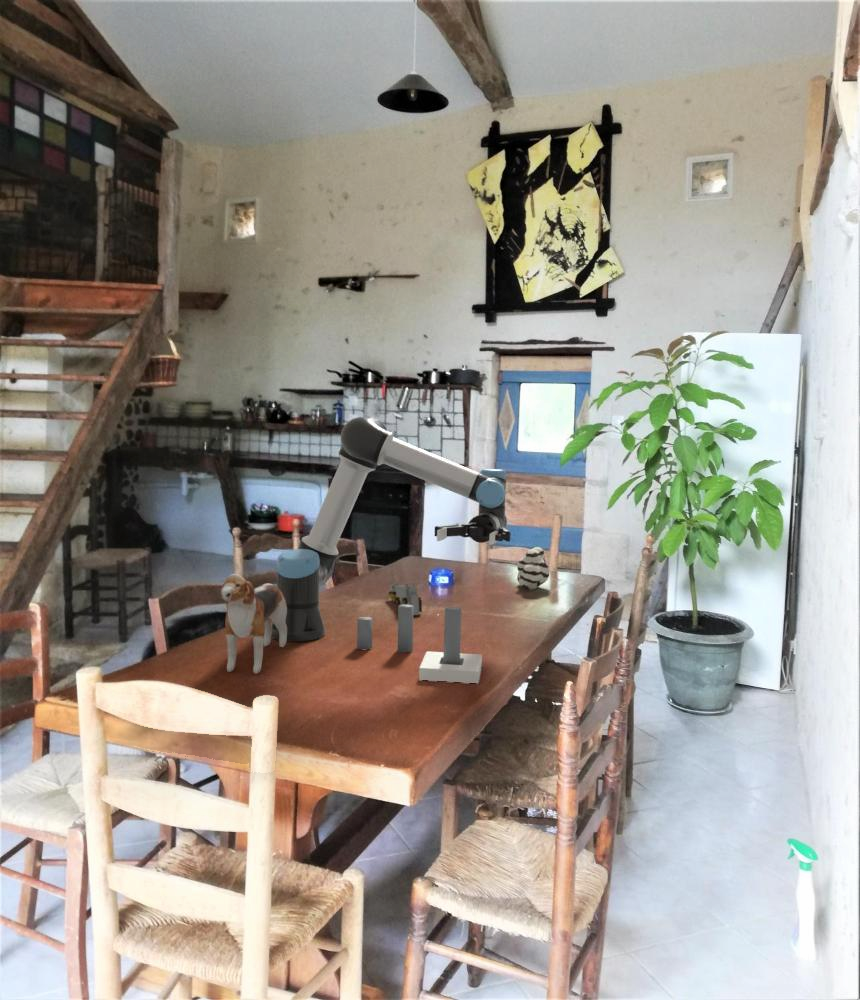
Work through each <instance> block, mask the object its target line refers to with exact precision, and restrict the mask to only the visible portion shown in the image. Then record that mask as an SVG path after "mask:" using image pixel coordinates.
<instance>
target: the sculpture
mask: <svg viewBox="0 0 860 1000" xmlns="http://www.w3.org/2000/svg"><path fill="white" fill-rule="evenodd" d="M516 567H517V571H518V573H517V579H516V580H517V582H518V584H519V587H520V588H522V589H524V590H535V589H536V588H538V587H540V586H541V585H543V584H545V583H546V582H547V581H548V580H549V577H550V573H551V572H550V567H549V564H548V562H547V561H546V559H545V551H544V548H542V547H540V546H535V547H533V548H531V549H529V550H528V551H526V553H525V555H524V556H523V557H522V558H521V559H519V560H518V562H517V566H516Z"/></svg>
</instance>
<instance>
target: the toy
mask: <svg viewBox="0 0 860 1000" xmlns="http://www.w3.org/2000/svg"><path fill="white" fill-rule="evenodd" d="M417 586H418V585H417V582H413V583H412V584H411V585H409V583H408V582H407V583H406V582H405V583H403V585H399V582H394V583H392V585H390V586H389V591H388V598H390V599H391V600H392V601H393V600H394V603H400V605H404V604H407V605H413V606H414V612H413V616H419V615H420V613H422V612H423V606H422V605H423V603H422V602H423V601H422V597H420V596H419V594H418V587H417Z"/></svg>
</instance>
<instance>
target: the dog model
mask: <svg viewBox="0 0 860 1000" xmlns="http://www.w3.org/2000/svg"><path fill="white" fill-rule="evenodd" d="M220 596H221V599H222V600H223V601H224V603H226V604H227V610H226V615H225V620H224V621H225V623H224V624H225V637H226V643H227V644H226V645H227V663H226V672H228V673H230V672H233V671H234V669H235V666H236V661H237V651H238V650H237V647H238V640H239V639H238V638H241V639H243V638H248V637H250V636H252V644H253V663H254V664H253V668H252V669H253V670H252V671H253V674H255V675H257V674H259V673H260V672H261V669H262V663H263V659H264V658H263V657H264V647H265V646H267V647H268V645H269V646H270V644H271V642H272V637H271V634H272V627H271V624H272V623H271V622H273V623H274V624H275V626H276V628H277V629H278V631H279V640H278V646H279V648H280V647H282V648H284V647H285V646H286V644H287V642H288V641H287V626H286V622H285V621H286V614H287V604H286V599H285V597H284V595H283V593H282V592H281V590H280V589H279V588H278V587H277V585H275V584H272V583H269V582H268V583H264V584H260V585H259V586H257V587H255V588H254V586H253V584H252V583H251V582H250V581H249V580H247V579H245V578H244V577H243V576H241V575H240V574H238V573H232V574H229V575H228V576H227V577H226V578H225V580H224V582H223V584H222V587H221V589H220Z"/></svg>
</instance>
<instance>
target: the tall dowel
mask: <svg viewBox="0 0 860 1000" xmlns="http://www.w3.org/2000/svg"><path fill="white" fill-rule="evenodd" d="M443 627H444V628H443V631H444V632H443V652H444V659H443V664H451V665H460V653H461V639H462V638H461V637H462V636H461V633H462V608H461V607H460V606H447V607H444V626H443Z"/></svg>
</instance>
